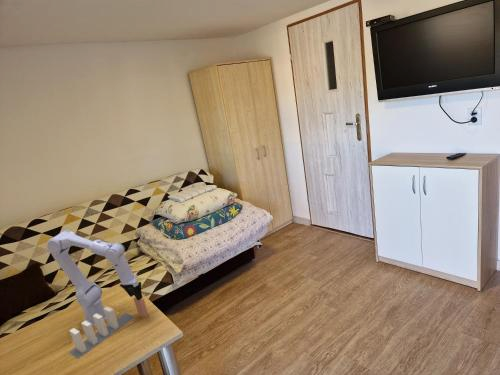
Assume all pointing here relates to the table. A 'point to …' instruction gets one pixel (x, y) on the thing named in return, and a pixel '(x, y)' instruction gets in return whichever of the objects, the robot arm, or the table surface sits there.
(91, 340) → the domino
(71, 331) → the domino
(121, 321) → the mat
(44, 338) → the table surface
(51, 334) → the table surface
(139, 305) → the domino
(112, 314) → the domino
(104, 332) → the domino
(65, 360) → the table surface
